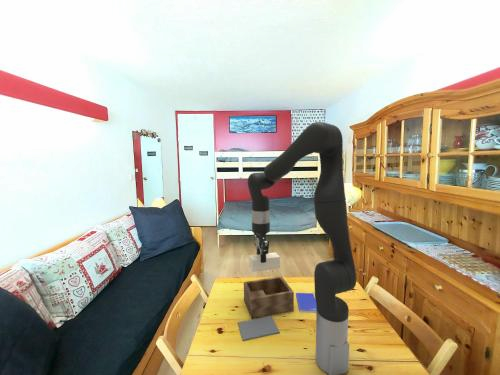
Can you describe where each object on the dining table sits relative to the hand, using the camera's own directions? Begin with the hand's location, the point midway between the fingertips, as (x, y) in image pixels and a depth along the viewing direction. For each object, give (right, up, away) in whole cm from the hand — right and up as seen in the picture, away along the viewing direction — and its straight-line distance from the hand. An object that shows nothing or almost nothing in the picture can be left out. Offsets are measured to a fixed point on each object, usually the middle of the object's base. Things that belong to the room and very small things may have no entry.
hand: (261, 259), depth 97 cm
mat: (-2, -23, -10) cm, 25 cm away
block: (+1, -4, +1) cm, 4 cm away
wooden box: (+3, -21, +3) cm, 22 cm away
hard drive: (+20, -22, +5) cm, 30 cm away
